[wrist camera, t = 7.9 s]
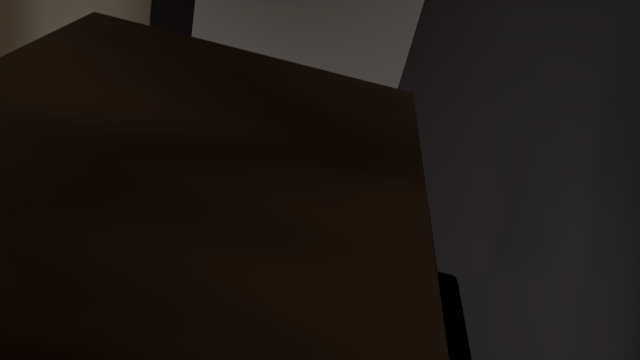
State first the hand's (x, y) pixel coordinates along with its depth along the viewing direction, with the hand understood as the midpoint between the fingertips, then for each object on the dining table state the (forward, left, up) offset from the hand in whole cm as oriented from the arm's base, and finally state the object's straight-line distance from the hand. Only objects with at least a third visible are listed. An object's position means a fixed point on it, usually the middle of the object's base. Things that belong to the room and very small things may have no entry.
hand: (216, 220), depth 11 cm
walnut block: (0, 0, -1) cm, 1 cm away
